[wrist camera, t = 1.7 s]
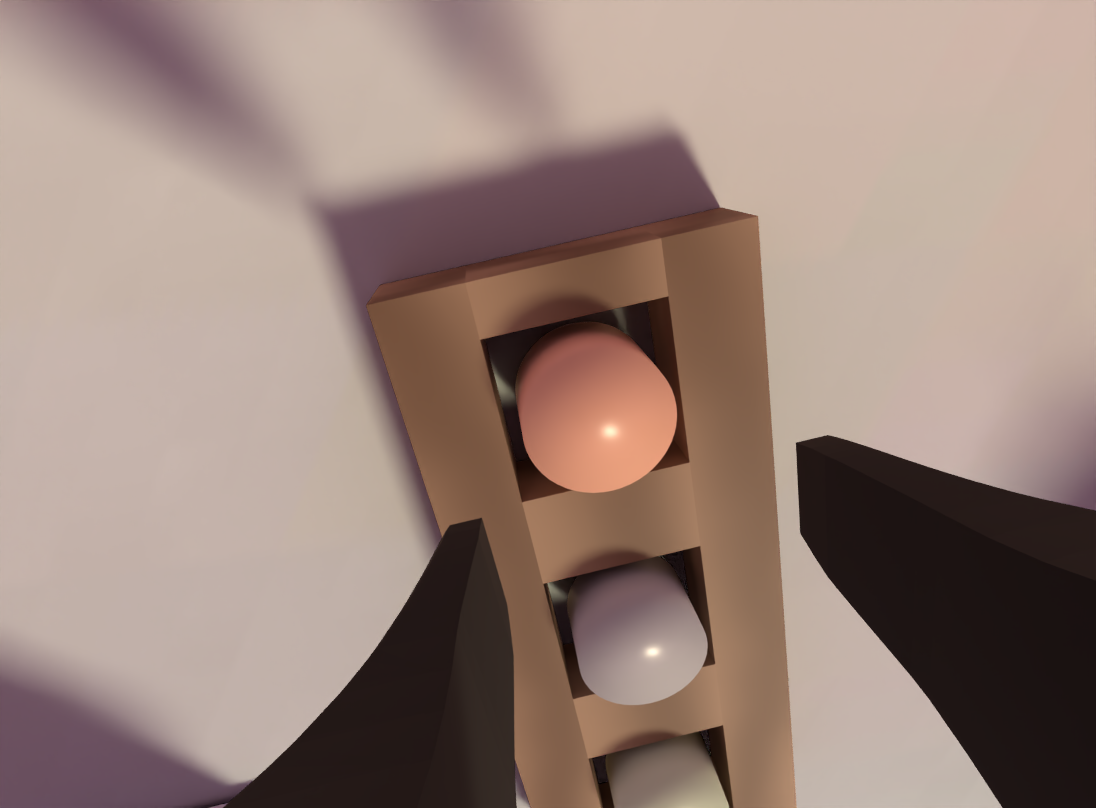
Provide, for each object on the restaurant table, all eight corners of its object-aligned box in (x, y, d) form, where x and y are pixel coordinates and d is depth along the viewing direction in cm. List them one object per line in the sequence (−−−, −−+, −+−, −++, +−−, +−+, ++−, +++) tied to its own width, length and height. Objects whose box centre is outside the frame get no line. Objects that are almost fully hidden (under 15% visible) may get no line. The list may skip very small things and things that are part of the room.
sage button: (613, 801, 25) (628, 869, 23) (597, 733, 24) (611, 799, 21) (709, 777, 25) (733, 842, 23) (699, 708, 24) (724, 771, 21)
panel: (548, 821, 27) (555, 883, 25) (380, 285, 18) (365, 305, 15) (769, 765, 27) (797, 822, 25) (721, 207, 18) (758, 216, 15)
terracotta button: (531, 462, 19) (540, 508, 16) (501, 339, 17) (506, 369, 15) (658, 432, 19) (685, 473, 17) (639, 307, 17) (666, 332, 15)
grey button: (578, 656, 22) (591, 717, 20) (556, 566, 20) (567, 621, 18) (687, 629, 22) (713, 687, 20) (674, 538, 21) (700, 589, 18)
